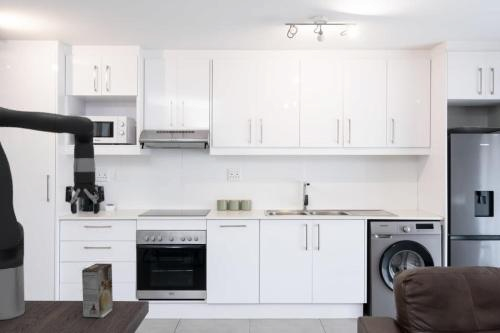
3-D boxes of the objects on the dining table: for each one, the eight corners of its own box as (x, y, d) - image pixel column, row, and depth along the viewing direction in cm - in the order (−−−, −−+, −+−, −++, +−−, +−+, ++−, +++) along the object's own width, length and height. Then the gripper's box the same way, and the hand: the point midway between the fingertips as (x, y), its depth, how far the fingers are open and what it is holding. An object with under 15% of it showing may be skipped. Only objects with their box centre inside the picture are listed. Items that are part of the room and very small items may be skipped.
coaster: (83, 316, 131) (83, 315, 131) (94, 309, 138) (94, 307, 138) (103, 317, 131) (103, 316, 131) (112, 309, 138) (112, 308, 138)
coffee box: (97, 306, 140) (96, 262, 140) (113, 307, 139) (112, 263, 139) (82, 316, 131) (81, 269, 130) (99, 317, 130) (98, 270, 129)
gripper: (60, 171, 140) (61, 215, 140) (97, 170, 139) (98, 215, 139) (72, 170, 148) (72, 212, 148) (107, 170, 146) (108, 212, 146)
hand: (85, 213), depth 143 cm, fingers open, 8 cm apart
